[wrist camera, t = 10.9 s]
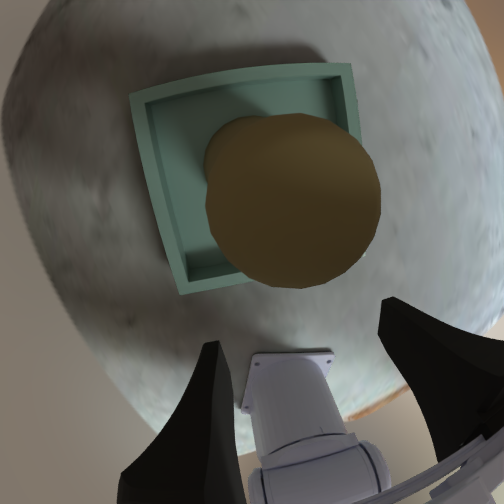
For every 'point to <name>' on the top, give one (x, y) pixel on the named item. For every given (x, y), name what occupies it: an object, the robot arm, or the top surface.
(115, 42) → the top surface
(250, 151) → the cork
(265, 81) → the tray
